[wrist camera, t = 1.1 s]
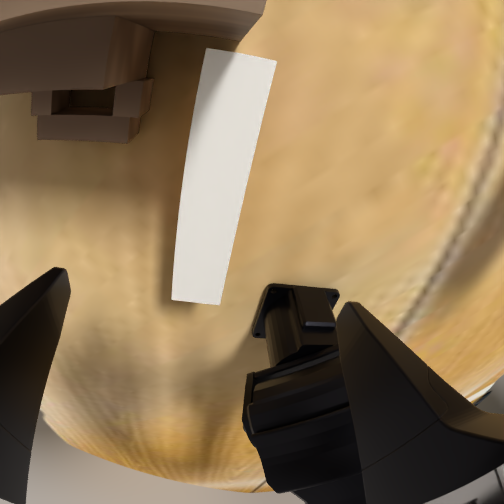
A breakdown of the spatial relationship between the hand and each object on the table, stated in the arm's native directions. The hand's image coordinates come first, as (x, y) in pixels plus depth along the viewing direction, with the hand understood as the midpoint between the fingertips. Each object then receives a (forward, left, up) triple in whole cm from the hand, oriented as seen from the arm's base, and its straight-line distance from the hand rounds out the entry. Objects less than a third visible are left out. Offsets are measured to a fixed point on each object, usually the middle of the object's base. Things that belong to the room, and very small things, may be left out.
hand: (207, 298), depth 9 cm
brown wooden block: (+6, +8, -12) cm, 15 cm away
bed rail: (0, 0, -12) cm, 12 cm away
